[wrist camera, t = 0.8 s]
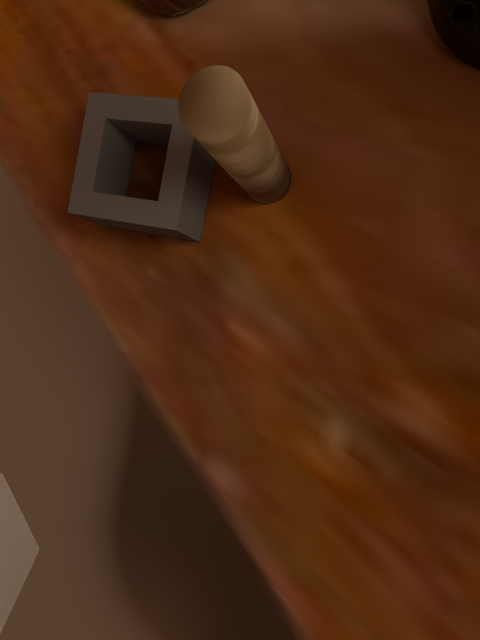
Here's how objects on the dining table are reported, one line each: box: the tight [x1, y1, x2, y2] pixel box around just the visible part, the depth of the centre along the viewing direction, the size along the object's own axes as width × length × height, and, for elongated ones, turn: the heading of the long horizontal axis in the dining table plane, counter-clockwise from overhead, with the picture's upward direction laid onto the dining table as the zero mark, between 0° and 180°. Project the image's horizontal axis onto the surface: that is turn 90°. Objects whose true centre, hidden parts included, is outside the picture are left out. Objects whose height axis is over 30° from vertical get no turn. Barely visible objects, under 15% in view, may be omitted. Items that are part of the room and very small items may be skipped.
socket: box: [67, 92, 215, 242], centre depth 39 cm, size 10×10×5 cm
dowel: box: [178, 65, 291, 204], centre depth 32 cm, size 4×4×14 cm
